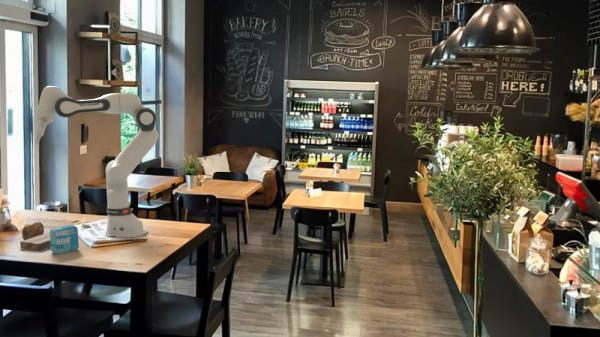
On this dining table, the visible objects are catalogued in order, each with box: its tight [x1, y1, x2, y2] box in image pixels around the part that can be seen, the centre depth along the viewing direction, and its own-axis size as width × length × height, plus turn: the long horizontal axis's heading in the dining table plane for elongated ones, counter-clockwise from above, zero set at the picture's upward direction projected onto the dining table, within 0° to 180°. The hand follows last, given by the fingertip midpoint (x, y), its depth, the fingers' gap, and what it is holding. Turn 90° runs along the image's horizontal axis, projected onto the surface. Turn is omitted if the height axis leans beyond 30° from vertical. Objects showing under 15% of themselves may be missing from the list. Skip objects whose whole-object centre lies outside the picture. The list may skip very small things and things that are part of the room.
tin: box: [21, 221, 45, 241], centre depth 314 cm, size 15×3×8 cm, turn 168°
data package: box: [49, 224, 80, 255], centre depth 293 cm, size 12×4×12 cm, turn 137°
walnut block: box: [19, 231, 51, 252], centre depth 305 cm, size 12×20×4 cm, turn 160°
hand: (36, 142), depth 309 cm, fingers open, 8 cm apart
